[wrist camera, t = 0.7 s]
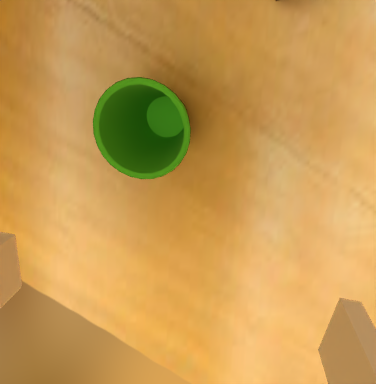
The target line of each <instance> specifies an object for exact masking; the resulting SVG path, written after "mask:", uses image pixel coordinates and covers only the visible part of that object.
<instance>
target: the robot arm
mask: <svg viewBox="0 0 376 384" xmlns="http://www.w3.org/2000/svg"><path fill="white" fill-rule="evenodd" d="M21 287H22V282H21V274H20V267H19V260H18V253H17V245H16V238H15V235H14V234H9V233H4V232H0V308H1V307H2V306H3V305H4V304H5V303H6V302H7V301H8V300H9V299H10V298H11V297H12V296H13V295H14V294H15V293H16V292H17V291H18V290H19V289H20V288H21ZM318 350H319V354H320V357H321V361H322V364H323V367H324V371H325V374H326V377H327V381H328V384H376V329H375V327H374V325H373V323H372V321H371V319H370V318H369V316H368V314H367V312H366V310H365V308H364V307H363V305H362V303H361V302H358V301H353V300H348V299H343V298H340V299H339V301H338V303H337V306H336V308H335V311H334V313H333V315H332V318H331V320H330V323H329V325H328V328H327V330H326V332H325V335H324V337H323V340H322V342H321V344H320V347H319V349H318Z"/></svg>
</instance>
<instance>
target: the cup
mask: <svg viewBox="0 0 376 384" xmlns="http://www.w3.org/2000/svg"><path fill="white" fill-rule="evenodd" d="M93 130H94V136H95V140H96V143H97V146H98V148H99V150H100V151H101V153H102V155H103V157H104V158H105V159H106V160H107V161H108V162H109V163H110V165H112V166H113V167H114V168H116V169H117V170H118V171H119V172H122V173H124V174H126V175H128V176H130V177H134V178H139V179H154V178H158V177H161V176H164V175H166V174H167V173H169V172H171V171H173V170H174V169H175V168H176V167H177V166H178V165H179V164H180V163H181V161H182V160H183V158H184V156H185V155H186V153H187V150H188V146H189V143H190V132H191V128H190V123H189V118H188V115H187V110H186V108H185V105H184V104H183V103H182V102H181V101H180V100H179V98H178V97H177V96H176V94H175V93H174V92H172V91H171V90H170V89H169V88H167V87H166V86H165V85H163V84H161V83H159V82H157V81H155V80H153V79H147V78H142V77H136V78H127V79H124V80H121V81H119V82H116V83H115V84H114V85H112V86H111V87H109V88H108V89H107V90H106V91H105V92H104V94H103V95H102V96H101V98H100V99H99V101H98V103H97V106H96V108H95V112H94V118H93Z"/></svg>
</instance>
